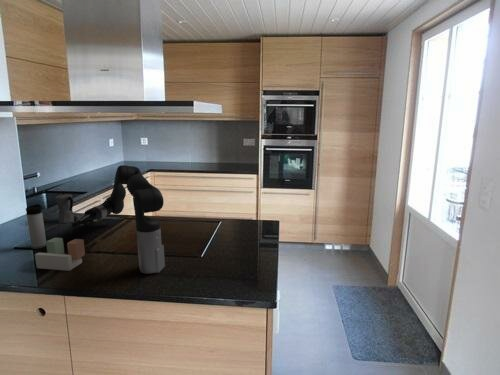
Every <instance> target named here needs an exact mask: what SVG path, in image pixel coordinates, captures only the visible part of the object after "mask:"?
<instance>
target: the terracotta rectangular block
mask: <svg viewBox="0 0 500 375" xmlns="http://www.w3.org/2000/svg"><path fill="white" fill-rule="evenodd" d="M66 246H67V255H71V258H72V259H79V258H83V257H84V256H86V250H85V241H84V239H80V238H74V239H73V240H70V241H68V242H67V244H66Z"/></svg>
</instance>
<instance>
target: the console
mask: <svg viewBox="0 0 500 375" xmlns="http://www.w3.org/2000/svg"><path fill="white" fill-rule="evenodd" d="M82 258H83V257H81V258H79V259H72V258H71V255H68V254H67V253H65V252H64V253H61V254H52V253H47V252H36V253H35V254H34V259H35V264H36V269H43V270H44V269H45V270H57V271H67V272H69V271H72V270H73V269H74V268H77V267H78V266H79V265H81V264H82V263H83V259H82Z"/></svg>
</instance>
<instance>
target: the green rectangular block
mask: <svg viewBox="0 0 500 375" xmlns="http://www.w3.org/2000/svg"><path fill="white" fill-rule="evenodd" d="M64 246H65V245H64V239H63V238H62V237H53V238H51V239H49V240H46V246H45V247H46V253H52V254H61V253H65V247H64Z"/></svg>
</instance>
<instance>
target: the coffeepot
mask: <svg viewBox="0 0 500 375" xmlns="http://www.w3.org/2000/svg"><path fill="white" fill-rule="evenodd" d="M61 193H62V194H59V195H58V194H57V195H56V196H55V197H54V198H55V202H56V204H57V208H58V220H57V221H58V223H59V224H71V223H73V222H74V217H73V216H75V215H74V210H73V206H74V199H73V197H74V196H73V194H69V193H67V194H66V191H61Z"/></svg>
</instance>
